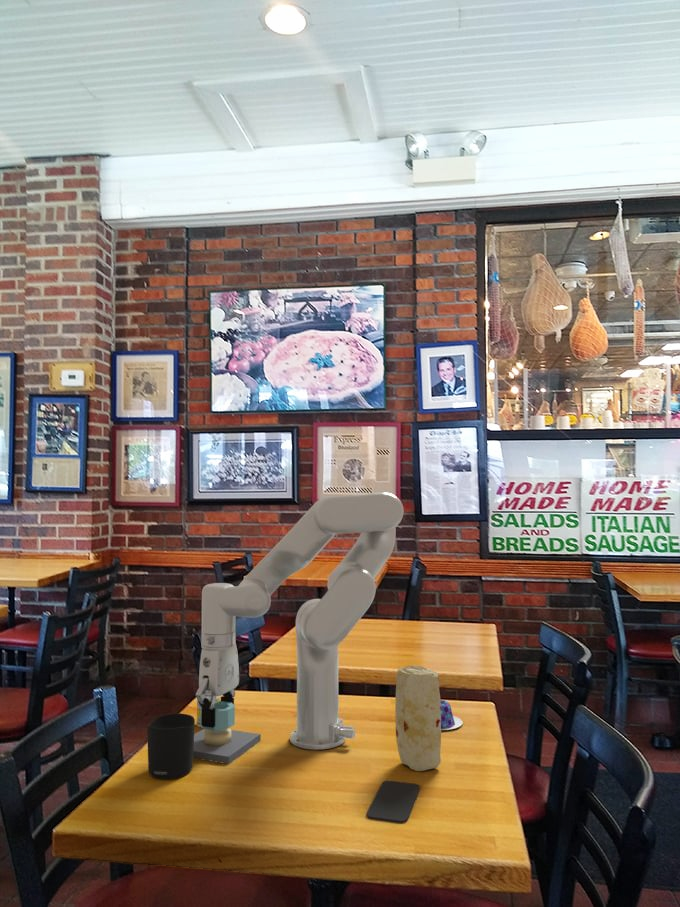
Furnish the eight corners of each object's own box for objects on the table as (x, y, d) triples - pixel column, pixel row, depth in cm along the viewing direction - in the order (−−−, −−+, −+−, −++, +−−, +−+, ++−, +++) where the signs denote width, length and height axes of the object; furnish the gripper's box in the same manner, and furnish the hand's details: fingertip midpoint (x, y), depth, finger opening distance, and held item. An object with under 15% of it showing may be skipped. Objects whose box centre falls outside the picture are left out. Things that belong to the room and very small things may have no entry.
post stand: (260, 740, 152) (260, 704, 153) (228, 764, 139) (229, 724, 140) (207, 733, 157) (207, 698, 158) (172, 754, 144) (172, 716, 145)
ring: (239, 721, 151) (239, 703, 151) (223, 731, 144) (223, 712, 144) (212, 717, 153) (212, 699, 153) (195, 727, 147) (195, 709, 147)
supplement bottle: (222, 721, 165) (222, 680, 166) (215, 728, 160) (216, 687, 161) (200, 720, 166) (201, 680, 167) (193, 728, 161) (194, 686, 161)
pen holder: (138, 770, 136) (139, 720, 137) (181, 758, 142) (181, 710, 143) (158, 785, 129) (159, 732, 130) (202, 772, 135) (203, 721, 136)
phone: (364, 816, 116) (383, 779, 130) (364, 820, 116) (383, 784, 130) (406, 821, 114) (421, 784, 128) (406, 826, 114) (421, 788, 128)
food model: (445, 764, 139) (444, 666, 140) (436, 776, 133) (435, 674, 134) (400, 756, 143) (400, 661, 144) (389, 768, 137) (389, 668, 138)
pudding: (417, 733, 157) (417, 710, 158) (409, 716, 169) (409, 695, 170) (468, 732, 158) (467, 709, 159) (456, 715, 170) (456, 694, 170)
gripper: (212, 649, 140) (211, 736, 139) (252, 633, 156) (251, 710, 155) (181, 646, 143) (180, 731, 142) (224, 630, 159) (223, 707, 158)
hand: (218, 720), depth 149 cm, fingers closed on ring, 7 cm apart
